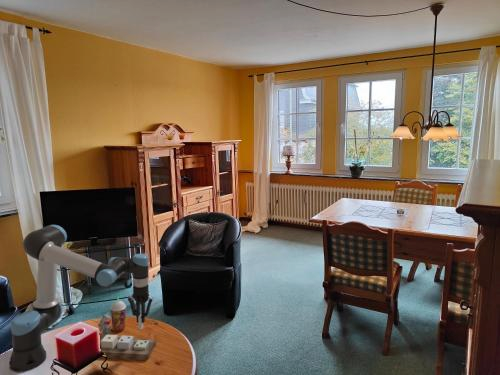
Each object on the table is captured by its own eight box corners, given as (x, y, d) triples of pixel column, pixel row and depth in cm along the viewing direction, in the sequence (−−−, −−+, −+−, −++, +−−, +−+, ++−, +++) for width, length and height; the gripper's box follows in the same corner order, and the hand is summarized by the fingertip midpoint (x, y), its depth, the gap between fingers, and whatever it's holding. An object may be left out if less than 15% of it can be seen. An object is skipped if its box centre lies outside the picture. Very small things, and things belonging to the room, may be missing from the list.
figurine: (99, 343, 181) (98, 317, 179) (96, 336, 188) (95, 311, 186) (115, 339, 186) (114, 313, 184) (112, 332, 192) (111, 307, 190)
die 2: (117, 349, 173) (117, 341, 172) (122, 342, 179) (122, 335, 178) (128, 350, 173) (128, 342, 172) (133, 343, 178) (133, 335, 178)
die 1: (101, 348, 173) (100, 340, 173) (106, 342, 179) (106, 334, 179) (112, 349, 173) (112, 341, 172) (117, 342, 179) (117, 334, 178)
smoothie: (112, 326, 199) (112, 293, 196) (127, 325, 200) (127, 293, 198) (109, 334, 191) (108, 300, 188) (125, 332, 192) (124, 299, 189)
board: (93, 356, 170) (92, 351, 170) (105, 341, 183) (105, 336, 183) (147, 360, 169) (147, 354, 168) (156, 344, 182) (156, 339, 181)
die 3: (133, 354, 173) (133, 346, 172) (138, 347, 179) (138, 339, 178) (145, 355, 172) (145, 347, 172) (149, 348, 178) (149, 340, 178)
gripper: (125, 287, 167) (125, 331, 170) (150, 288, 167) (150, 333, 170) (131, 280, 175) (131, 323, 178) (155, 282, 174) (155, 325, 177)
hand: (140, 328), depth 174 cm, fingers closed
